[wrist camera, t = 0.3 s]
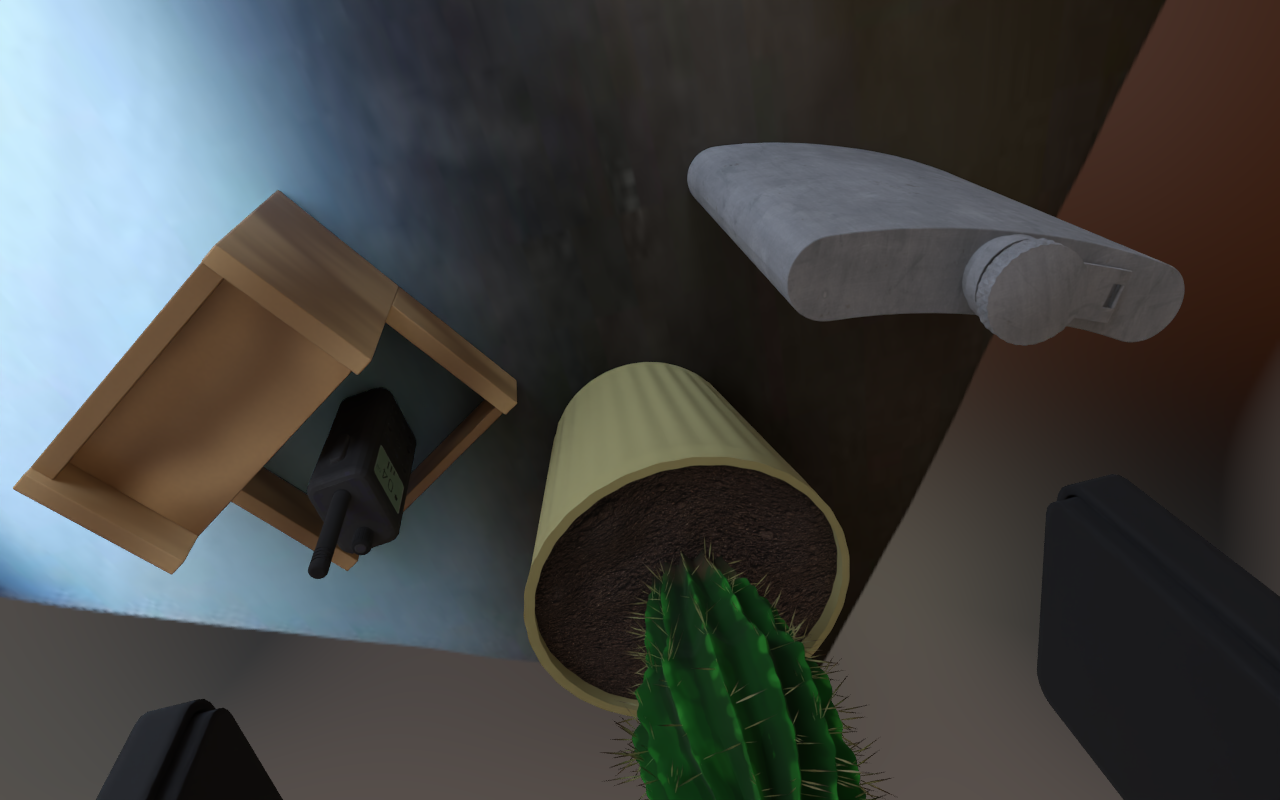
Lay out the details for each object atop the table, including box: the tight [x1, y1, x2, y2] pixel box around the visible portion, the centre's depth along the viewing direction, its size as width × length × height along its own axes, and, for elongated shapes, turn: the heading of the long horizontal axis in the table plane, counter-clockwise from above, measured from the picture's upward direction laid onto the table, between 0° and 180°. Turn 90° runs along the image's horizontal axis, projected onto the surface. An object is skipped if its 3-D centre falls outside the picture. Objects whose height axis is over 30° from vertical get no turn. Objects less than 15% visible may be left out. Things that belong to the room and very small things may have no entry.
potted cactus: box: [524, 362, 890, 800], centre depth 37 cm, size 15×15×30 cm
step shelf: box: [13, 190, 517, 574], centre depth 41 cm, size 16×15×10 cm
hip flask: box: [687, 143, 1184, 346], centre depth 36 cm, size 16×4×20 cm, turn 83°
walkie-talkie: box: [307, 388, 416, 579], centre depth 41 cm, size 5×3×15 cm
